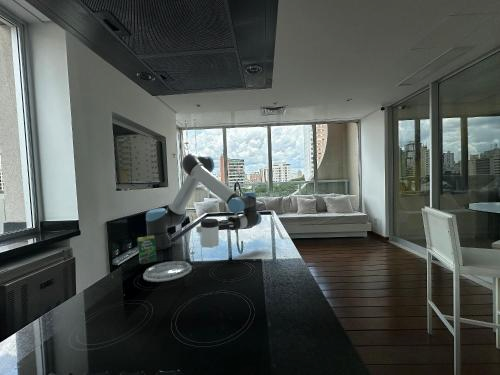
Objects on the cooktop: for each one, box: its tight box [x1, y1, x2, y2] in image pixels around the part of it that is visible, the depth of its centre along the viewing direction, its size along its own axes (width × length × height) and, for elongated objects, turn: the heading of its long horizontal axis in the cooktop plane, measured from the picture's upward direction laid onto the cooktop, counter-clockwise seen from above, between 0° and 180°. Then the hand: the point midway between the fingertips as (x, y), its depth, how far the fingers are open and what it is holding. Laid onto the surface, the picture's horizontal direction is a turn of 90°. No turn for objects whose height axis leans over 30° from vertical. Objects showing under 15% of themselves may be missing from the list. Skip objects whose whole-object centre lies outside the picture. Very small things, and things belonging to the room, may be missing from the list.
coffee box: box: [137, 235, 158, 265], centre depth 128 cm, size 8×3×13 cm, turn 117°
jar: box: [199, 218, 220, 249], centre depth 123 cm, size 9×8×12 cm
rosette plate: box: [142, 260, 192, 283], centre depth 111 cm, size 20×20×2 cm
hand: (197, 229), depth 123 cm, fingers closed on jar
